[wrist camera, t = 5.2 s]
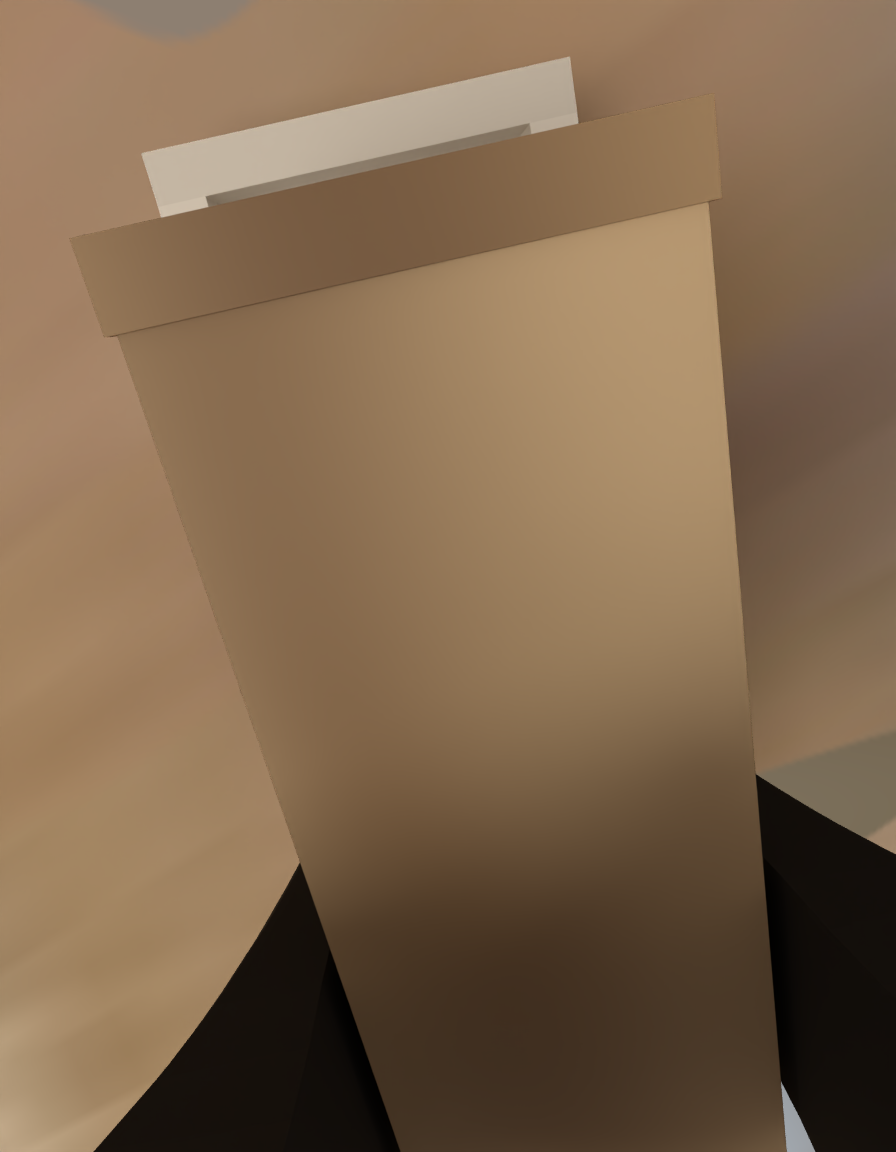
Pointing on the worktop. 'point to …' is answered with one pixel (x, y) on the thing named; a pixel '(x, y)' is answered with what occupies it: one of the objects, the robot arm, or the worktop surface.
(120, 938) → the worktop surface
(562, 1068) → the oak rail
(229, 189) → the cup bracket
